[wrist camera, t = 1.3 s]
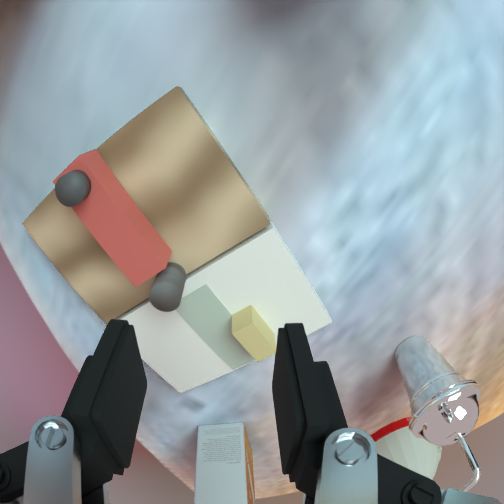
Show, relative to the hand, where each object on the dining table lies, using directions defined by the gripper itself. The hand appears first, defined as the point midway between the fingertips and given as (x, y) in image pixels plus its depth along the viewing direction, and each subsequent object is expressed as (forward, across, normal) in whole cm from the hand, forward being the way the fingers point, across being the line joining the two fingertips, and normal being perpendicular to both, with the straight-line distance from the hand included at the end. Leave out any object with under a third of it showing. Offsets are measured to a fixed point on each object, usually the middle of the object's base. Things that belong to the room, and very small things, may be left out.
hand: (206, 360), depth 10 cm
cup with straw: (+18, -22, +17) cm, 33 cm away
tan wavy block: (+17, +7, +1) cm, 19 cm away
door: (+17, 0, +11) cm, 21 cm away
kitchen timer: (+18, -28, +39) cm, 52 cm away
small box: (+18, 0, +33) cm, 37 cm away
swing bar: (+15, +8, 0) cm, 17 cm away
